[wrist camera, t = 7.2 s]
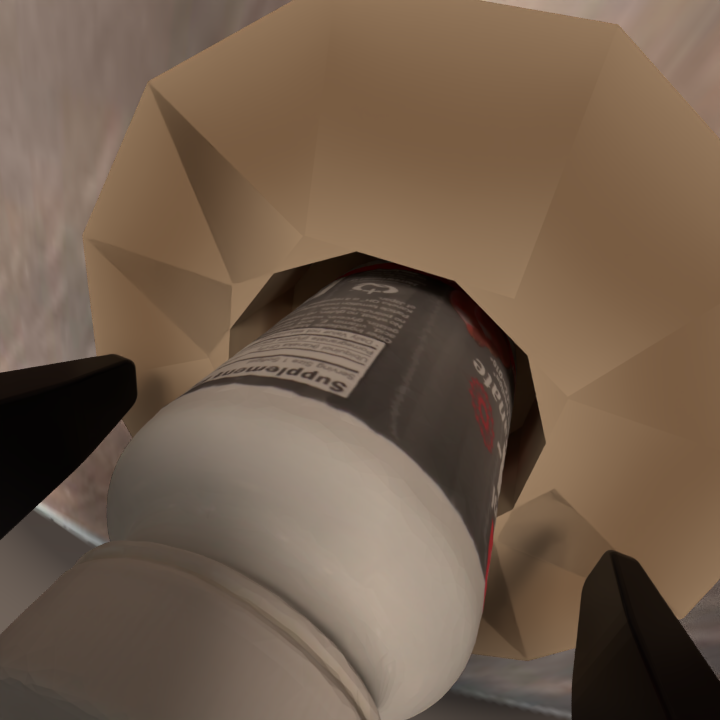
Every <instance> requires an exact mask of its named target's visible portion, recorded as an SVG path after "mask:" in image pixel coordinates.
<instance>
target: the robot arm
mask: <svg viewBox="0 0 720 720" xmlns="http://www.w3.org/2000/svg"><path fill="white" fill-rule="evenodd" d="M137 396H138V390H137V376H136V366H135V364H134V362H133V361H132V360H130V359H128V358H125V357H123V356H120V355H117V354H108V355H102V356H96V357H90V358H84V359H78V360H73V361H67V362H61V363H55V364H49V365H43V366H37V367H31V368H25V369H20V370H14V371H8V372H2V373H0V540H1V539H2V538H3V537H4V536H5V535H6V534H7V533H8V532H9V531H11V530H12V528H14V527H15V526H16V525H17V524H18V523H19V522H20V521H21V520H22V519H23V518H24V517H25V516H27V515H28V514H29V513H30V512H31V511H32V510H33V509H34V508H35V507H36V506H37V505H38V504H39V503H41V502H42V501H43V500H44V499H45V498H46V497H47V496H48V495H49V494H50V493H51V492H52V491H53V490H54V489H56V488H57V487H58V486H59V485H60V484H61V483H62V482H63V481H64V480H65V479H66V478H67V477H68V476H69V475H71V474H72V473H73V472H74V471H75V470H76V469H77V468H78V467H79V466H80V465H81V464H82V463H83V462H84V461H85V460H86V459H87V457H88V456H89V455H90V454H91V453H92V452H93V451H94V450H95V449H96V447H97V446H98V445H99V444H100V443H101V442H102V441H103V440H104V438H105V437H106V436H107V435H108V434H109V433H110V432H111V431H112V429H113V428H114V427H115V426H116V425H117V424H118V423H119V421H120V420H121V419H122V418H123V417H124V416H125V415H126V414H127V412H128V411H129V410H130V409H131V408H132V407H133V405H134V404H135V402H136V399H137ZM572 720H720V681H719V680H718V678H717V677H716V675H715V674H714V672H713V671H712V669H711V668H710V666H709V665H708V663H707V662H706V660H705V659H704V657H703V656H702V654H701V653H700V651H699V650H698V648H697V647H696V646H695V644H694V643H693V641H692V640H691V638H690V637H689V635H688V634H687V632H686V631H685V629H684V628H683V626H682V625H681V623H680V622H679V620H678V619H677V617H676V616H675V614H674V613H673V612H672V610H671V609H670V607H669V606H668V604H667V603H666V601H665V600H664V598H663V597H662V595H661V594H660V592H659V591H658V589H657V588H656V586H655V585H654V583H653V582H652V580H651V579H650V578H649V576H648V575H647V573H646V572H645V570H644V569H643V567H642V566H641V564H640V563H639V562H638V561H637V560H636V559H634V558H633V557H630V556H628V555H625V554H623V553H620V552H618V551H615V550H607V551H606V552H605V553H604V554H603V555H602V557H601V558H600V560H599V561H598V562H597V564H596V565H595V567H594V568H593V570H592V571H591V573H590V574H589V575H588V577H587V578H586V580H585V582H584V585H583V588H582V593H581V601H580V611H579V620H578V630H577V639H576V649H575V659H574V668H573V679H572Z"/></svg>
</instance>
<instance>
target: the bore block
mask: <svg viewBox="0 0 720 720" xmlns="http://www.w3.org/2000/svg"><path fill="white" fill-rule="evenodd" d="M82 236H83V245H84V253H85V261H86V270H87V278H88V286H89V295H90V303H91V312H92V320H93V328H94V337H95V345H96V353H97V356H102V355H108V354H117V355H120V356H123V357H125V358H128V359H130V360H132V361H133V362H134V364H135V366H136V376H137V390H138V396H137V399H136V402H135V404H134V405H133V407H132V408H131V409H130V410H129V411H128V412H127V414H126V415H125V416H124V417H123V418H122V420H123V421H124V423H125V425H126V427H127V429H128V430H129V432H130V434H131V436H132V438H133V437H134V436H135V435H136V433H137V432H138V431H139V430H140V429H141V428H142V427H143V426H144V425H145V424H146V423H147V422H148V421H150V420H151V419H152V418H153V417H154V416H155V415H156V414H157V413H158V412H159V411H160V410H161V409H162V408H163V407H164V406H166V405H167V404H169V403H171V402H172V401H174V400H175V399H176V398H178V397H179V396H181V395H182V394H184V393H185V392H186V391H188V390H189V389H190V388H192V387H193V386H194V385H195V384H197V383H198V382H199V381H201V380H202V379H203V378H205V377H206V376H208V375H209V374H210V373H212V372H213V371H214V370H216V369H217V368H218V367H219V366H221V365H222V364H223V363H225V362H226V361H227V360H229V359H230V358H232V357H233V356H234V355H235V354H237V353H238V352H239V351H241V350H242V349H243V348H245V347H246V346H247V345H249V344H250V343H252V342H253V341H254V340H256V339H257V338H258V337H260V336H261V335H262V334H264V333H265V332H266V331H268V330H269V329H270V328H271V327H273V326H274V325H275V324H276V323H278V322H279V321H280V320H282V319H283V318H284V317H286V316H287V315H288V314H290V313H291V312H293V311H294V310H295V309H296V308H297V307H299V306H300V305H301V304H303V303H304V302H305V301H306V300H308V299H309V298H311V297H312V296H314V295H315V294H316V293H318V292H319V291H320V290H321V289H322V288H323V287H325V286H327V285H328V284H330V283H331V282H332V281H334V280H336V279H337V278H338V277H340V276H341V275H343V274H344V273H346V272H348V271H350V270H351V269H353V268H355V267H357V266H359V265H362V264H365V263H368V262H371V261H375V260H379V259H384V260H387V261H391V262H394V263H397V264H401V265H404V266H407V267H410V268H414V269H417V270H420V271H424V272H427V273H430V274H434V275H437V276H440V277H444V278H447V279H450V280H454V281H455V282H456V283H457V284H458V285H459V286H460V287H461V288H462V289H463V290H464V291H465V292H466V293H467V294H468V295H469V296H470V297H471V298H472V299H473V300H474V301H475V302H476V303H477V304H478V305H479V306H480V307H481V308H482V309H483V310H484V311H485V312H486V313H487V314H488V315H489V316H490V317H491V319H492V320H493V321H494V322H495V323H496V324H497V325H498V326H499V327H500V328H501V329H502V330H503V331H504V332H505V333H506V334H507V335H508V336H509V337H510V338H511V339H512V340H513V342H514V346H515V352H516V360H517V380H516V389H515V399H514V406H513V410H512V416H511V422H510V429H509V435H508V441H507V448H506V455H505V463H504V468H503V472H502V483H501V488H500V494H499V499H498V510H497V518H496V525H495V529H494V535H493V547H492V554H491V560H490V566H489V573H488V579H487V589H486V595H485V602H484V608H483V613H482V617H481V620H480V625H479V629H478V634H477V638H476V642H475V645H474V648H473V650H472V653H471V654H477V655H485V656H493V657H501V658H508V659H516V660H524V661H529V660H533V659H537V658H540V657H544V656H548V655H551V654H555V653H558V652H562V651H566V650H569V649H573V648H576V639H577V630H578V620H579V611H580V601H581V593H582V588H583V585H584V582H585V580H586V578H587V577H588V575H589V574H590V573H591V571H592V570H593V568H594V567H595V565H596V564H597V562H598V561H599V560H600V558H601V557H602V555H603V554H604V553H605V552H606V551H607V550H615V551H618V552H620V553H623V554H625V555H628V556H630V557H633V558H634V559H636V560H637V561H638V562H639V563H640V564H641V566H642V567H643V569H644V570H645V572H646V573H647V575H648V576H649V578H650V579H651V580H652V582H653V583H654V585H655V586H656V588H657V589H658V591H659V592H660V594H661V595H662V597H663V598H664V600H665V601H666V603H667V604H668V606H669V607H670V609H671V610H672V612H673V613H674V614H675V616H676V617H677V619H682V618H684V617H685V616H686V615H687V614H688V613H689V612H690V610H691V609H692V608H693V607H694V606H695V605H696V604H697V603H698V602H699V601H700V600H701V599H702V598H703V596H704V595H705V594H706V593H707V592H708V591H709V590H710V589H711V588H712V587H713V586H714V585H715V584H716V582H717V581H718V580H719V579H720V139H719V138H718V137H717V135H716V134H715V133H714V132H713V131H712V130H711V129H710V128H709V126H708V125H707V124H706V123H705V122H704V121H703V120H702V119H701V117H700V116H699V115H698V114H697V113H696V112H695V111H694V110H693V108H692V107H691V106H690V105H689V104H688V103H687V102H686V100H685V99H684V98H683V97H682V96H681V95H680V94H679V93H678V91H677V90H676V89H675V88H674V87H673V86H672V85H671V84H670V82H669V81H668V80H667V79H666V78H665V77H664V76H663V75H662V73H661V72H660V71H659V70H658V69H657V68H656V67H655V66H654V64H653V63H652V62H651V61H650V60H649V59H648V58H647V56H646V55H645V54H644V53H643V52H642V51H641V50H640V49H639V47H638V46H637V45H636V44H635V43H634V42H633V41H632V40H631V38H630V37H629V36H628V35H627V34H626V33H625V32H624V31H623V29H622V28H621V27H620V26H619V25H618V24H612V23H606V22H601V21H595V20H589V19H583V18H578V17H572V16H566V15H561V14H555V13H549V12H543V11H538V10H532V9H526V8H520V7H515V6H509V5H503V4H497V3H492V2H486V1H480V0H293V1H291V2H289V3H288V4H286V5H284V6H282V7H280V8H279V9H277V10H275V11H273V12H271V13H270V14H268V15H266V16H264V17H263V18H261V19H259V20H257V21H255V22H254V23H252V24H250V25H248V26H246V27H245V28H243V29H241V30H239V31H238V32H236V33H234V34H232V35H230V36H229V37H227V38H225V39H223V40H221V41H220V42H218V43H216V44H214V45H213V46H211V47H209V48H207V49H205V50H204V51H202V52H200V53H198V54H196V55H195V56H193V57H191V58H189V59H188V60H186V61H184V62H182V63H180V64H179V65H177V66H175V67H173V68H171V69H170V70H168V71H166V72H164V73H162V74H161V75H159V76H157V77H155V78H154V79H152V80H150V81H148V83H147V85H146V88H145V90H144V92H143V95H142V97H141V99H140V102H139V104H138V106H137V109H136V111H135V113H134V116H133V118H132V120H131V123H130V125H129V127H128V130H127V132H126V134H125V137H124V139H123V142H122V144H121V146H120V149H119V151H118V153H117V156H116V158H115V160H114V163H113V165H112V167H111V170H110V172H109V174H108V177H107V179H106V181H105V184H104V186H103V188H102V191H101V193H100V195H99V198H98V200H97V202H96V205H95V207H94V209H93V212H92V214H91V216H90V219H89V221H88V224H87V226H86V228H85V231H84V233H83V235H82Z"/></svg>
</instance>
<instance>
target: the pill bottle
mask: <svg viewBox="0 0 720 720" xmlns="http://www.w3.org/2000/svg"><path fill="white" fill-rule="evenodd" d="M516 380H517V360H516V352H515V346H514V342H513V340H512V339H511V338H510V337H509V336H508V335H507V334H506V333H505V332H504V331H503V330H502V329H501V328H500V327H499V326H498V325H497V324H496V323H495V322H494V321H493V320H492V319H491V317H490V316H489V315H488V314H487V313H486V312H485V311H484V310H483V309H482V308H481V307H480V306H479V305H478V304H477V303H476V302H475V301H474V300H473V299H472V298H471V297H470V296H469V295H468V294H467V293H466V292H465V291H464V290H463V289H462V288H461V287H460V286H459V285H458V284H457V283H456V282H455V281H454V280H450V279H447V278H444V277H440V276H437V275H434V274H430V273H427V272H424V271H420V270H417V269H414V268H410V267H407V266H404V265H401V264H397V263H394V262H391V261H387V260H384V259H379V260H375V261H371V262H368V263H365V264H362V265H359V266H357V267H355V268H353V269H351V270H350V271H348V272H346V273H344V274H343V275H341V276H340V277H338V278H337V279H336V280H334V281H332V282H331V283H330V284H328V285H327V286H325V287H323V288H322V289H321V290H320V291H319V292H318V293H316V294H315V295H314V296H312V297H311V298H309V299H308V300H306V301H305V302H304V303H303V304H301V305H300V306H299V307H297V308H296V309H295V310H294V311H293V312H291V313H290V314H288V315H287V316H286V317H284V318H283V319H282V320H280V321H279V322H278V323H276V324H275V325H274V326H273V327H271V328H270V329H269V330H268V331H266V332H265V333H264V334H262V335H261V336H260V337H258V338H257V339H256V340H254V341H253V342H252V343H250V344H249V345H247V346H246V347H245V348H243V349H242V350H241V351H239V352H238V353H237V354H235V355H234V356H233V357H232V358H230V359H229V360H227V361H226V362H225V363H223V364H222V365H221V366H219V367H218V368H217V369H216V370H214V371H213V372H212V373H210V374H209V375H208V376H206V377H205V378H203V379H202V380H201V381H199V382H198V383H197V384H195V385H194V386H193V387H192V388H190V389H189V390H188V391H186V392H185V393H184V394H182V395H181V396H179V397H178V398H176V399H175V400H174V401H172V402H171V403H169V404H167V405H166V406H164V407H163V408H162V409H161V410H160V411H159V412H158V413H157V414H156V415H155V416H154V417H153V418H152V419H151V420H150V421H148V422H147V423H146V424H145V425H144V426H143V427H142V428H141V429H140V430H139V431H138V432H137V433H136V435H135V436H134V437H133V438H132V440H131V441H130V442H129V444H128V445H127V446H126V448H125V449H124V451H123V453H122V454H121V456H120V458H119V460H118V462H117V464H116V467H115V469H114V472H113V474H112V478H111V482H110V486H109V490H108V497H107V526H108V534H109V539H110V542H108V543H105V544H102V545H100V546H98V547H96V548H94V549H92V550H90V551H89V552H87V553H85V554H84V555H83V556H82V557H81V558H80V559H79V560H78V561H77V562H76V563H75V565H74V566H73V568H72V569H70V570H68V571H66V572H65V573H64V574H63V575H61V576H60V577H59V578H58V579H57V580H56V581H55V582H54V583H53V584H52V585H51V586H50V587H49V589H47V590H46V591H45V592H44V593H43V594H42V595H41V596H40V597H39V598H38V599H37V600H35V601H34V602H33V603H32V604H31V605H30V606H29V607H28V608H27V609H26V610H25V611H24V612H23V613H22V614H21V615H20V616H19V617H18V618H17V619H16V620H15V621H14V622H13V623H11V624H10V626H8V628H7V629H6V630H5V631H3V632H2V634H0V720H407V719H410V718H411V717H414V716H415V715H417V714H419V713H421V712H423V711H425V710H426V709H427V708H429V707H430V706H432V705H433V704H435V703H436V702H437V701H438V700H439V699H440V698H442V697H443V696H444V695H445V694H446V693H447V692H448V690H449V689H450V688H451V687H452V686H453V684H454V683H455V682H456V681H457V680H458V678H459V676H460V675H461V673H462V672H463V670H464V669H465V667H466V664H467V662H468V660H469V658H470V656H471V653H472V650H473V648H474V645H475V642H476V638H477V634H478V629H479V625H480V620H481V617H482V613H483V608H484V602H485V595H486V589H487V579H488V573H489V566H490V560H491V554H492V547H493V535H494V529H495V525H496V518H497V510H498V499H499V494H500V488H501V483H502V472H503V468H504V463H505V455H506V448H507V441H508V435H509V429H510V422H511V416H512V410H513V406H514V399H515V389H516Z"/></svg>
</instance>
